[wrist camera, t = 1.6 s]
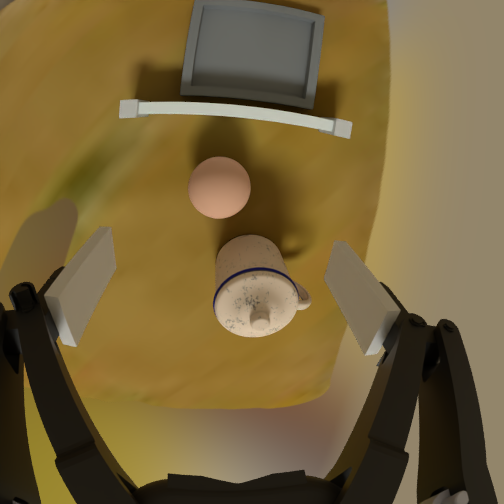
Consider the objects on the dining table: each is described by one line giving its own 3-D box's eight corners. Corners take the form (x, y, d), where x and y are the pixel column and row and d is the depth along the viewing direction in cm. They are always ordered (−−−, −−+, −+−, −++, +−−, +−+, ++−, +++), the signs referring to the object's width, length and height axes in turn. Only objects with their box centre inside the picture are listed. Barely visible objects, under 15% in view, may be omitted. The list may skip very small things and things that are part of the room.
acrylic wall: (133, 116, 25) (119, 118, 21) (134, 101, 25) (120, 100, 21) (332, 134, 29) (349, 138, 25) (335, 120, 28) (352, 122, 24)
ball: (190, 205, 31) (183, 226, 26) (193, 151, 28) (186, 160, 23) (244, 208, 32) (249, 230, 27) (250, 155, 29) (258, 165, 24)
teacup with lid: (205, 283, 37) (203, 347, 27) (225, 223, 33) (229, 277, 23) (286, 300, 40) (306, 361, 30) (312, 248, 36) (346, 303, 26)
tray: (182, 95, 25) (179, 94, 24) (196, 2, 20) (195, -3, 18) (308, 109, 27) (313, 109, 26) (319, 19, 22) (324, 16, 20)
